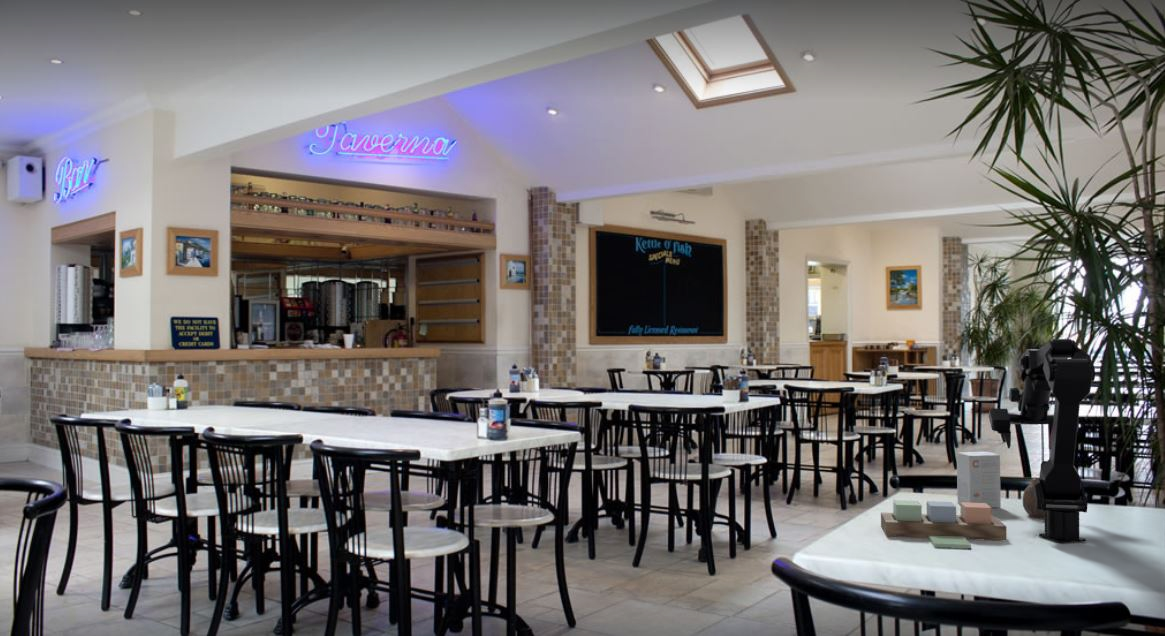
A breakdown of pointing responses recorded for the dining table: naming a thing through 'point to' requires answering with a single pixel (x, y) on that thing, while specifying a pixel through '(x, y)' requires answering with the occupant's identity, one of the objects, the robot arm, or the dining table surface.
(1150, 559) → the dining table surface
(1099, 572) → the dining table surface
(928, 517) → the slate button
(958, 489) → the small box
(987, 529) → the walnut panel
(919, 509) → the sage button
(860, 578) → the dining table surface
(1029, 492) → the vase
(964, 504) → the terracotta button
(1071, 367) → the robot arm
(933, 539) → the sage tile
